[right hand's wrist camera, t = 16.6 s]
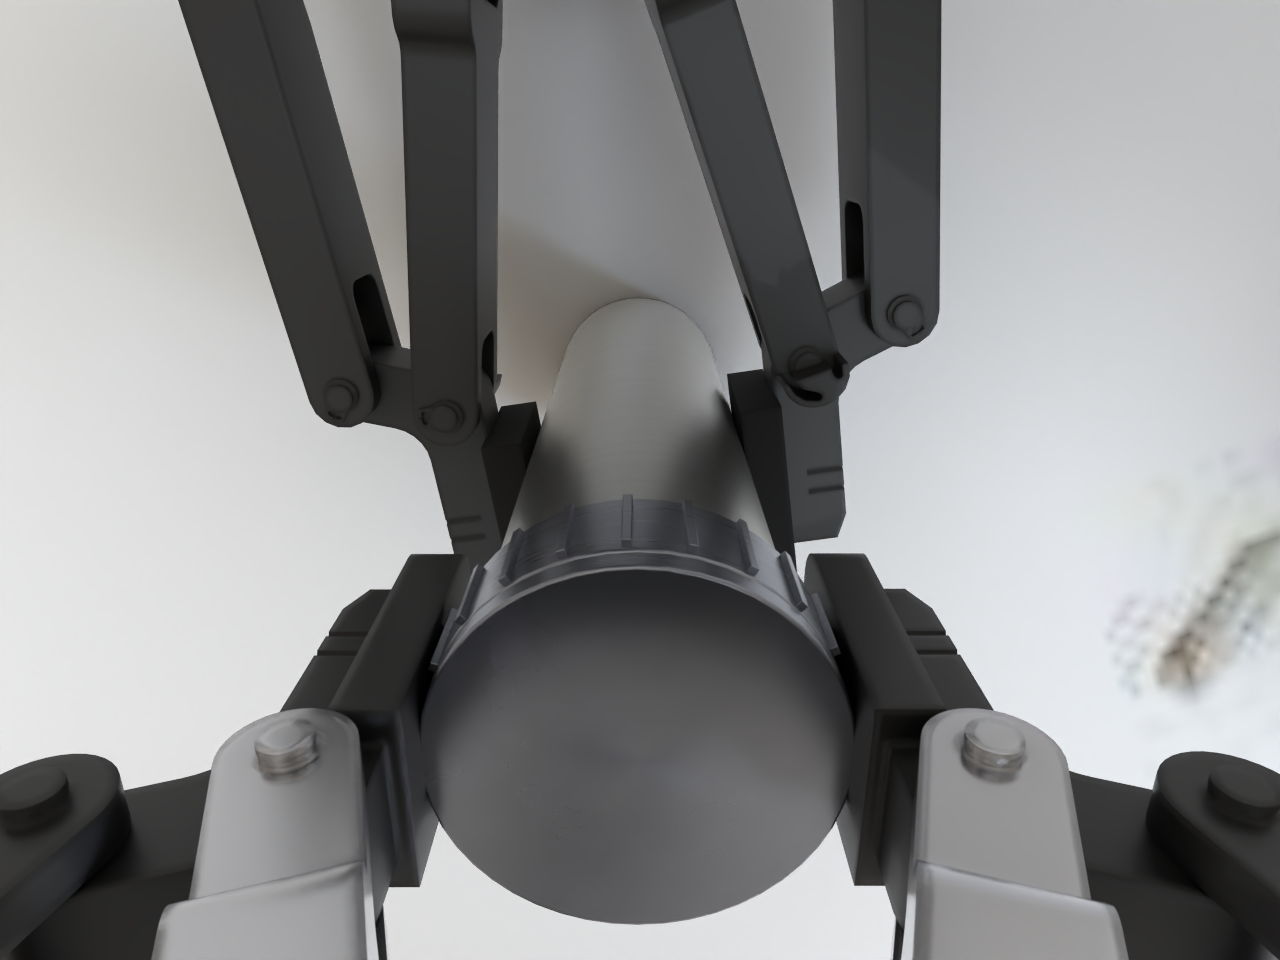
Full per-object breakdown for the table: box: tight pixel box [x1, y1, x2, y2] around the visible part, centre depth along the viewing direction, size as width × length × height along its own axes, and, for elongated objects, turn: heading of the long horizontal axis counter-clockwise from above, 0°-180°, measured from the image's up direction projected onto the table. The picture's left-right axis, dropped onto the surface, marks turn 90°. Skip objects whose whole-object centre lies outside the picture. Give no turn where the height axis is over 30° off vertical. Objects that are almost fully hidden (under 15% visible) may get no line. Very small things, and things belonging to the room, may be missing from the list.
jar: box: [501, 298, 775, 549], centre depth 17 cm, size 4×4×16 cm
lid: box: [420, 494, 855, 925], centre depth 10 cm, size 5×5×2 cm
